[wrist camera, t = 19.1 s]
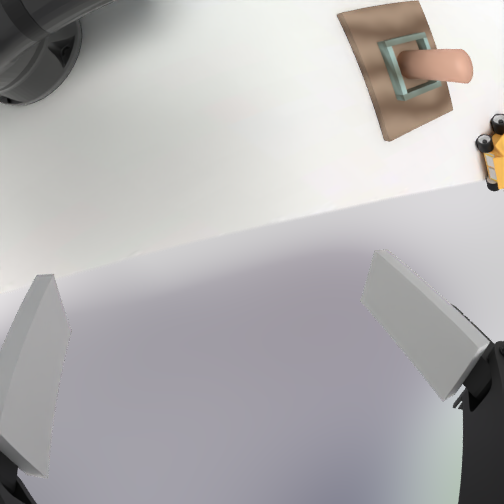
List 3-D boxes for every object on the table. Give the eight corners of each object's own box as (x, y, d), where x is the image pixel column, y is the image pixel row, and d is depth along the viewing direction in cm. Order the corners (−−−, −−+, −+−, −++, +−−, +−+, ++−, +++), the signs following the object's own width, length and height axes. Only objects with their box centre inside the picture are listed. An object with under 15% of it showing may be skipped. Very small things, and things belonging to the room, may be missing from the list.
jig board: (336, 14, 33) (349, 10, 30) (412, 1, 34) (426, -2, 31) (384, 140, 45) (397, 143, 42) (447, 108, 45) (460, 111, 42)
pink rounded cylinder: (393, 53, 37) (449, 51, 26) (412, 48, 37) (467, 47, 26) (402, 82, 39) (458, 86, 29) (421, 75, 39) (476, 79, 29)
